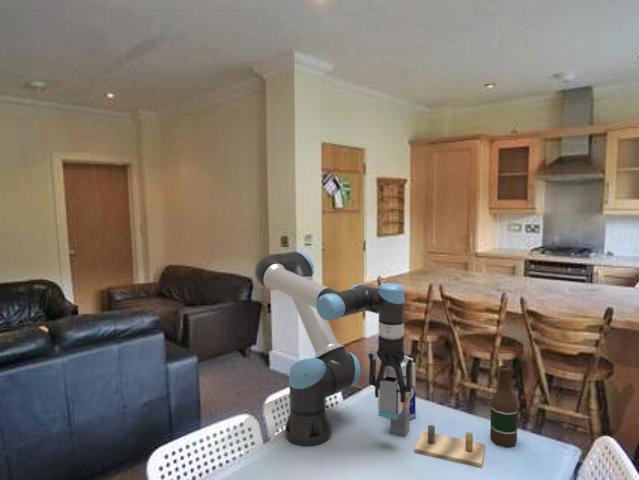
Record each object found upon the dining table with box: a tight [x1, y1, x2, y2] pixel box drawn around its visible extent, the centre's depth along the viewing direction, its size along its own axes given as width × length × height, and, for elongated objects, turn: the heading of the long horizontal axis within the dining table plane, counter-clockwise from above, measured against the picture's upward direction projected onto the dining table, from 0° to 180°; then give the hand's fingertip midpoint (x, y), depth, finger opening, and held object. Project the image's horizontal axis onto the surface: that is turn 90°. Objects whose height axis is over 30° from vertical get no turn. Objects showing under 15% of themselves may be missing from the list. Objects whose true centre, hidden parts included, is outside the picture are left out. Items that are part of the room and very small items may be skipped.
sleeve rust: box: [389, 397, 410, 438], centre depth 142 cm, size 5×5×11 cm
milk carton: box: [387, 361, 417, 421], centre depth 151 cm, size 7×7×20 cm
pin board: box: [413, 424, 486, 469], centre depth 131 cm, size 19×11×6 cm, turn 65°
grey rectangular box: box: [378, 374, 400, 420], centre depth 132 cm, size 5×5×11 cm
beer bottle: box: [489, 364, 519, 449], centre depth 134 cm, size 8×8×24 cm
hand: (390, 409), depth 133 cm, fingers closed on grey rectangular box, 5 cm apart
